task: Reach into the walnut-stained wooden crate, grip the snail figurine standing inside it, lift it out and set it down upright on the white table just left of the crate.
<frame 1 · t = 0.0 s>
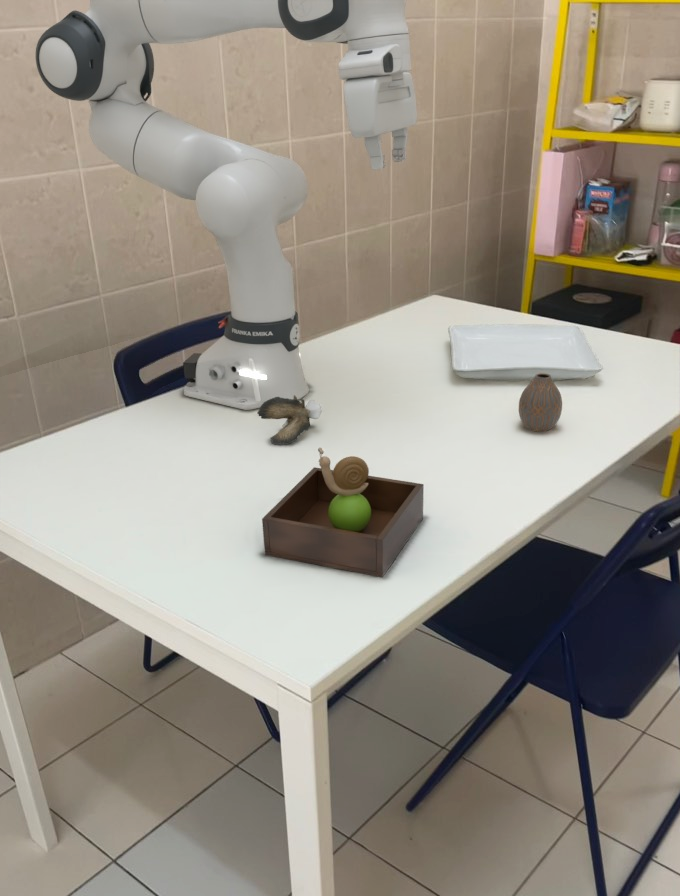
hand: (389, 165, 132), 39 cm above the table, tool pointing down, fingers open, 8 cm apart
vase: (538, 428, 143), on the table
eagle figurine: (291, 435, 142), on the table
crate: (346, 535, 113), on the table
square plate: (519, 363, 171), on the table
snail figurine: (346, 533, 112), resting on crate
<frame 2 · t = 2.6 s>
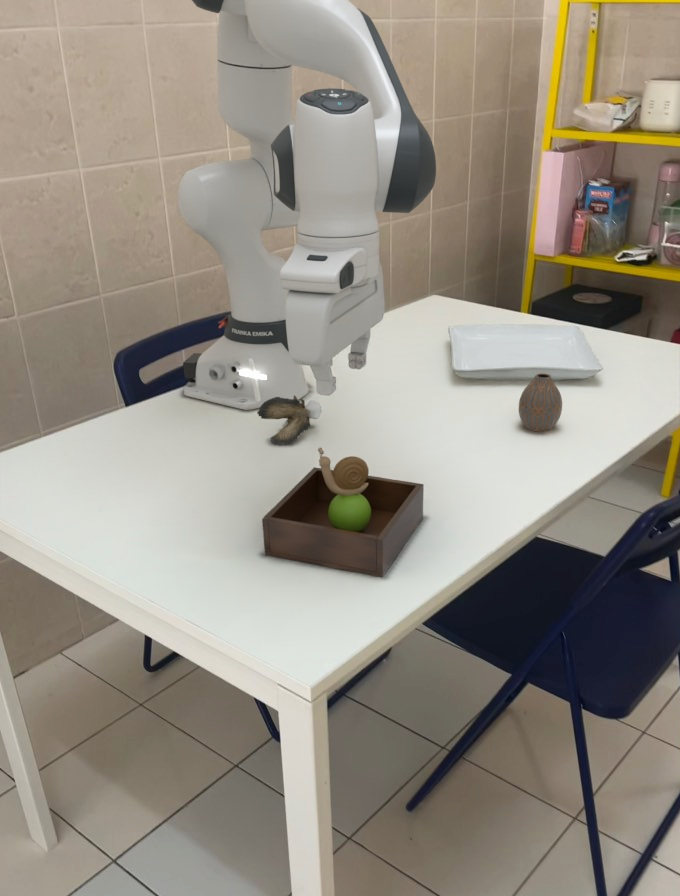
hand: (342, 379, 102), 21 cm above the table, tool pointing down, fingers open, 8 cm apart
nothing on the table moved.
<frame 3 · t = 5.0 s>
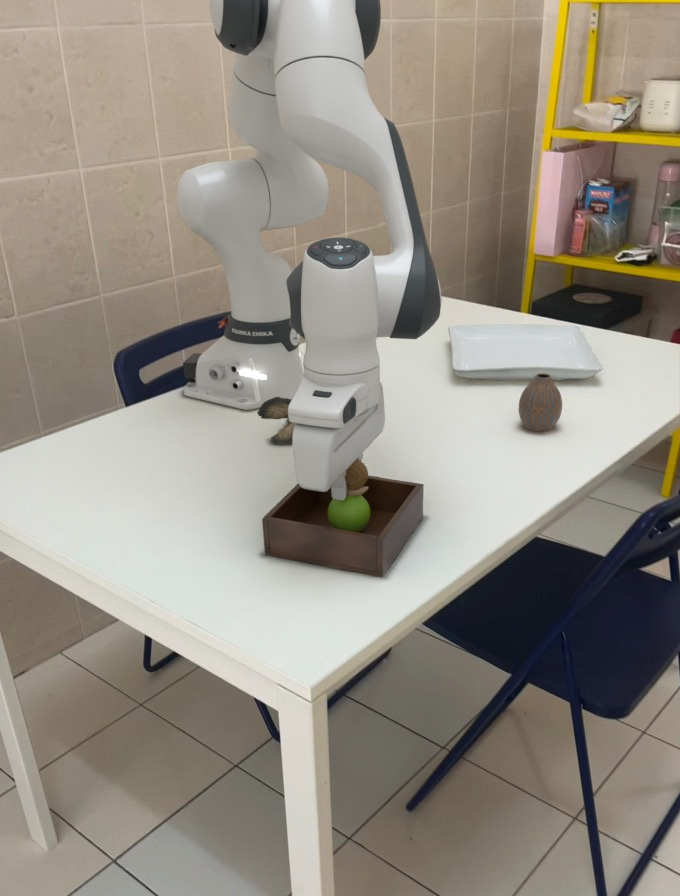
hand: (345, 492, 109), 6 cm above the table, tool pointing down, fingers closed on snail figurine
snail figurine: (345, 532, 112), resting on crate, touching gripper
everything else where it was.
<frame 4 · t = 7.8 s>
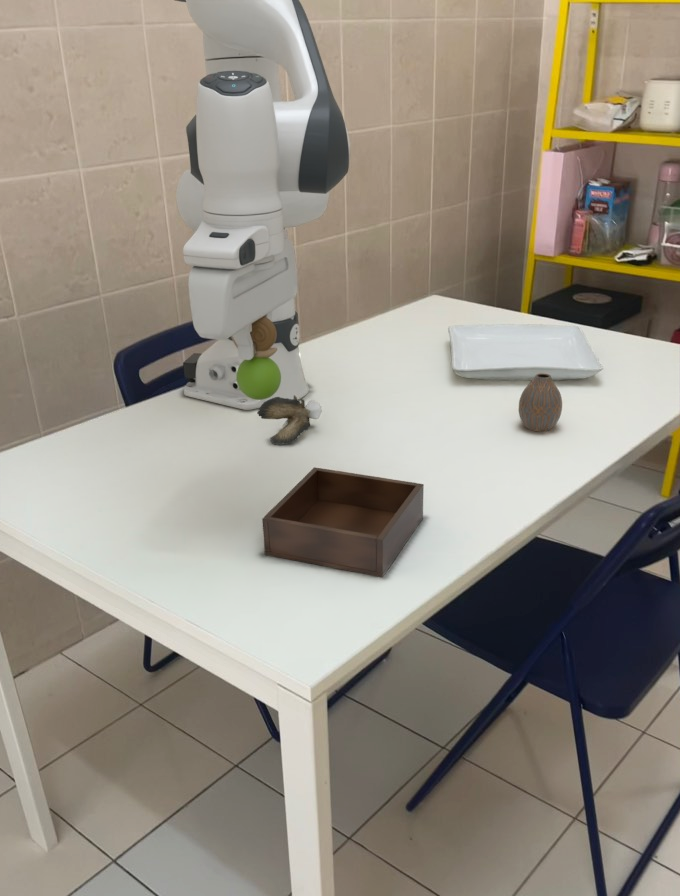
hand: (254, 353, 106), 22 cm above the table, tool pointing down, fingers closed on snail figurine
snail figurine: (256, 399, 109), point 17 cm above the table, touching gripper
everything else where it was.
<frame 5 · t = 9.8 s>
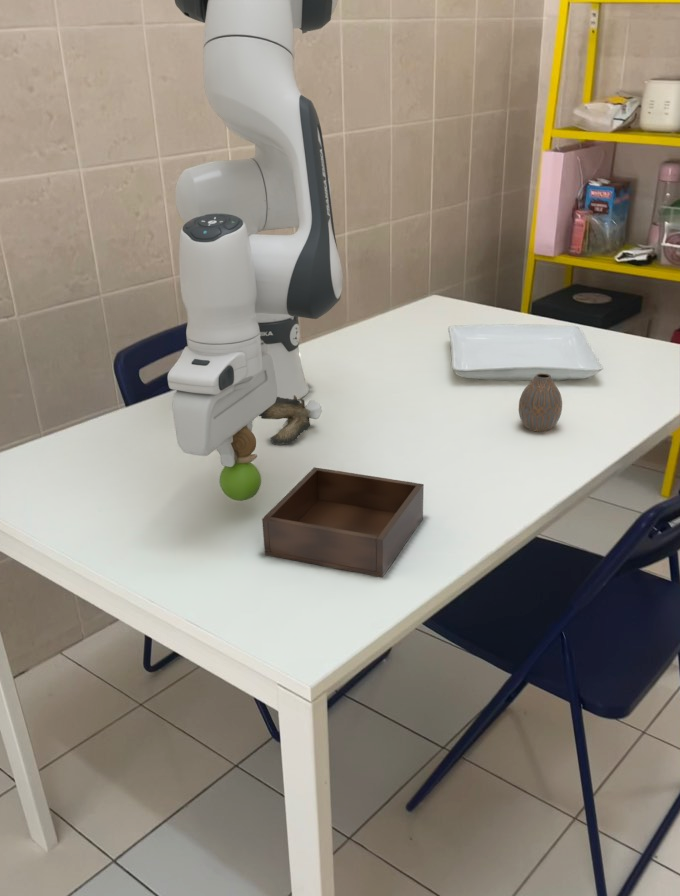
hand: (235, 459, 114), 8 cm above the table, tool pointing down, fingers closed on snail figurine
snail figurine: (238, 500, 117), point 2 cm above the table, touching gripper
everything else where it was.
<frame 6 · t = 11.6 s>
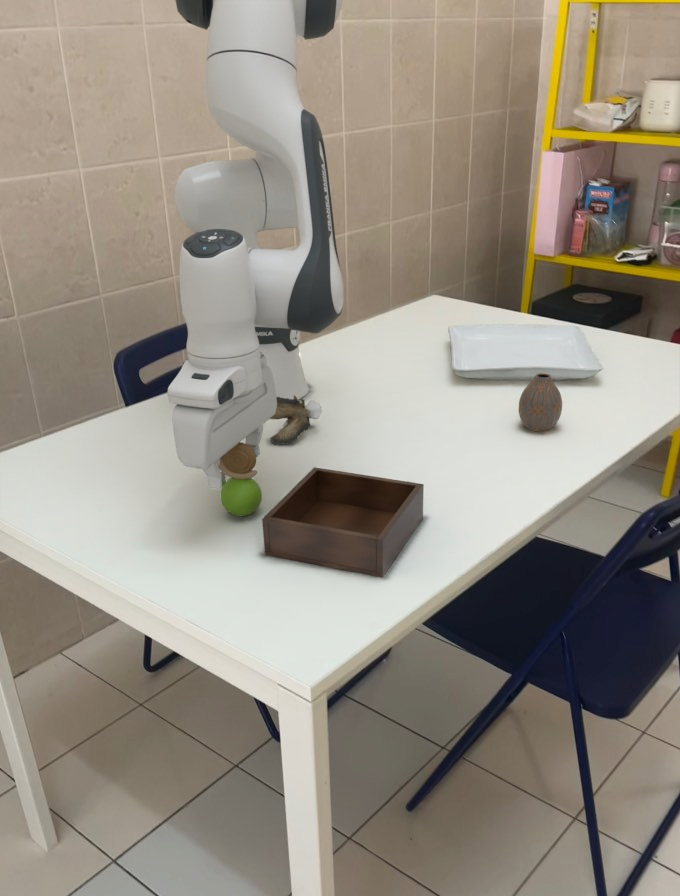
hand: (235, 471, 115), 6 cm above the table, tool pointing down, fingers open, 8 cm apart
snail figurine: (239, 514, 118), on the table
everything else where it was.
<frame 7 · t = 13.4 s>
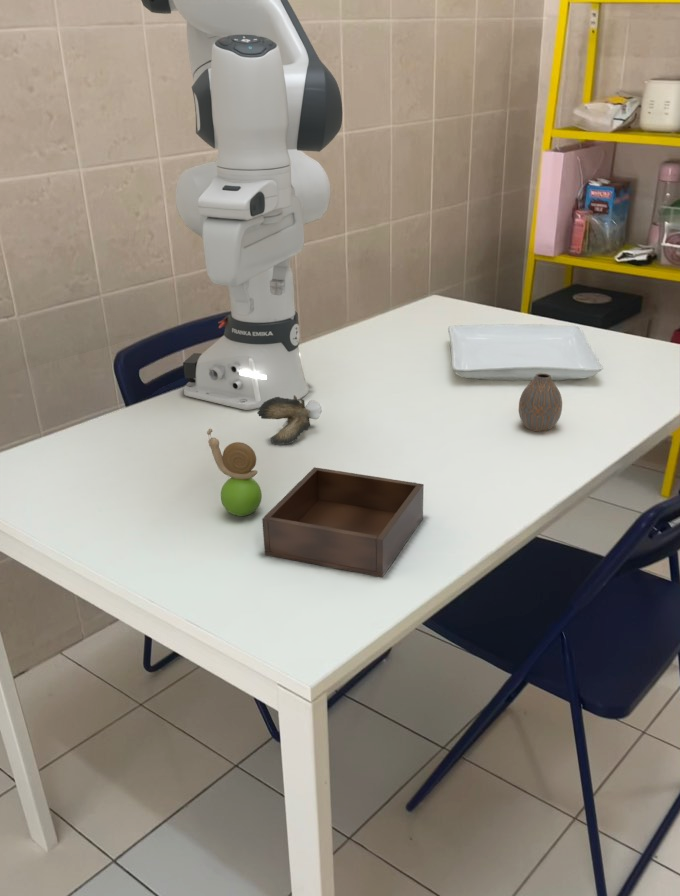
hand: (262, 303, 113), 26 cm above the table, tool pointing down, fingers open, 8 cm apart
nothing on the table moved.
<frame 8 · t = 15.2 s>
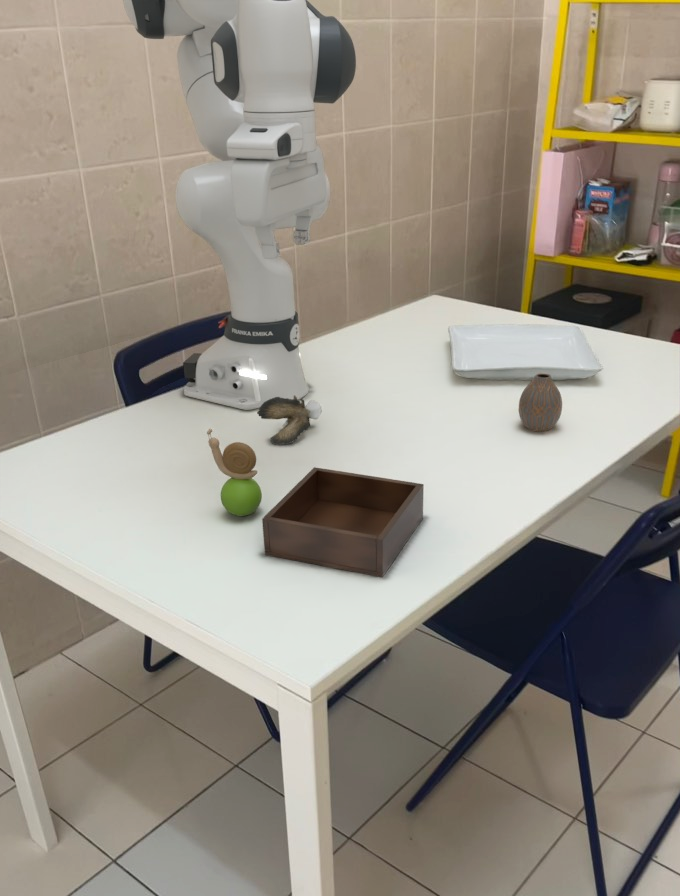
hand: (287, 250, 116), 31 cm above the table, tool pointing down, fingers open, 8 cm apart
nothing on the table moved.
at the end: snail figurine inside the target area (0.2 cm from its centre), on the table; snail figurine tilted 0°; snail figurine touching table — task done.
